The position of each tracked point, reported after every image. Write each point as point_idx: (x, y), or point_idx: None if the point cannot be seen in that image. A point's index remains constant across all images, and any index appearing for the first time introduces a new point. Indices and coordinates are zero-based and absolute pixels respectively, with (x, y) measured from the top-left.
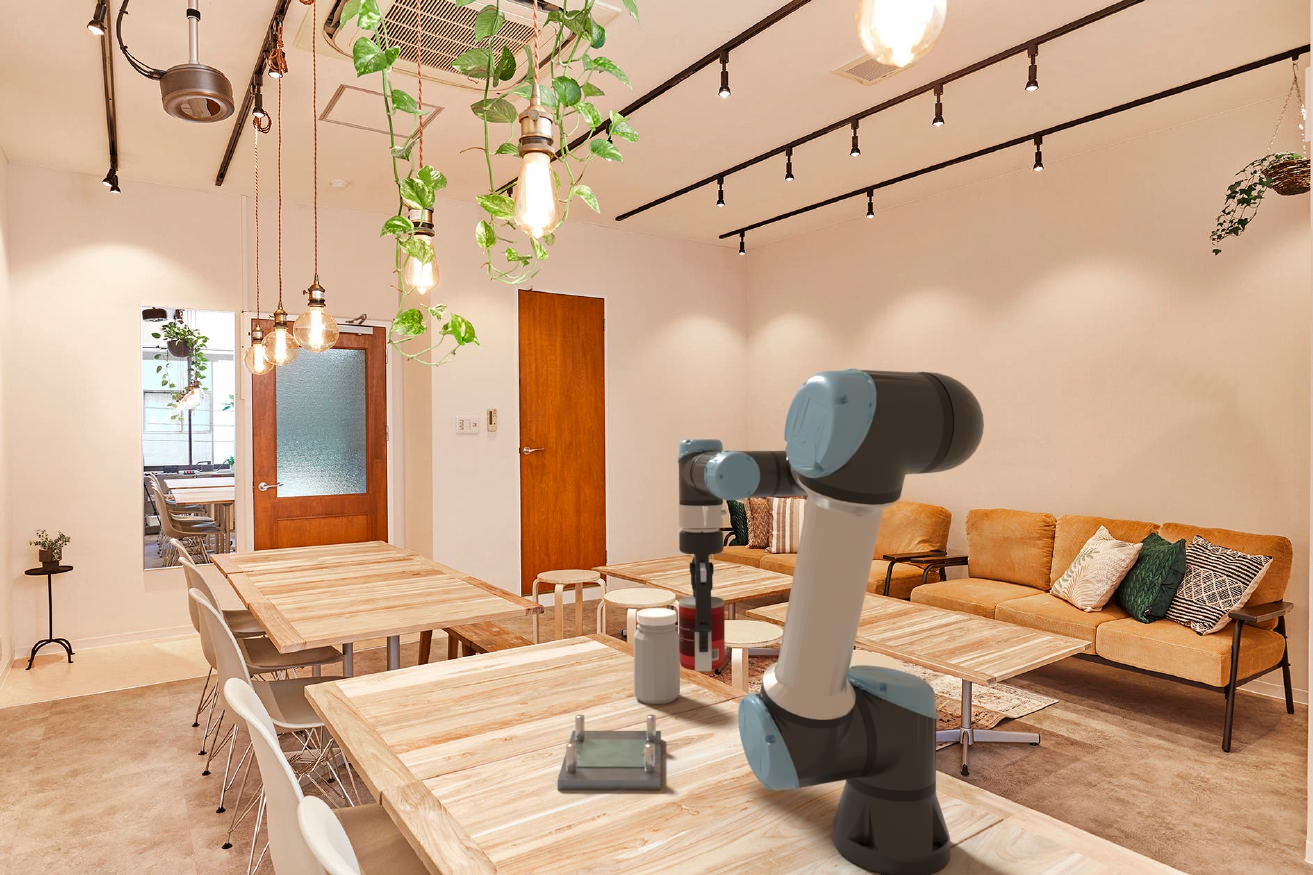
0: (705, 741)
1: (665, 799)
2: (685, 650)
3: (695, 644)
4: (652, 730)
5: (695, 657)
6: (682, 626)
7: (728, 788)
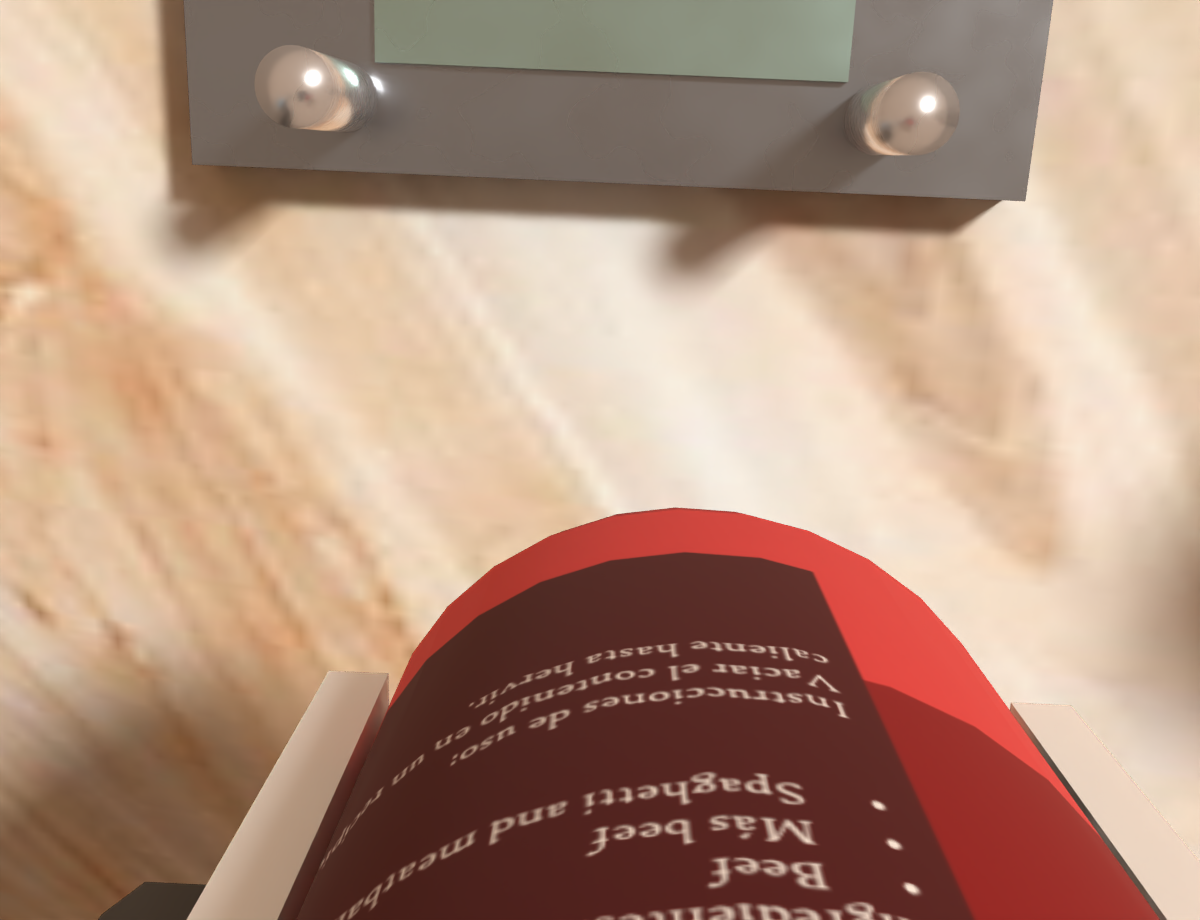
0: (926, 500)
1: (98, 191)
2: (440, 667)
3: (198, 899)
4: (859, 127)
5: (273, 769)
6: (452, 876)
7: (256, 558)
